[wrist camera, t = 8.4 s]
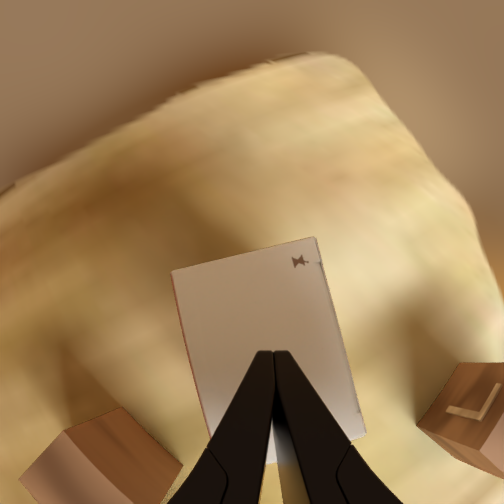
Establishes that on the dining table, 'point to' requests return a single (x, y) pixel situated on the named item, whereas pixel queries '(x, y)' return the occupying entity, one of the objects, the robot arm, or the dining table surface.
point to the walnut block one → (102, 465)
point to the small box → (264, 327)
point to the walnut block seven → (471, 416)
